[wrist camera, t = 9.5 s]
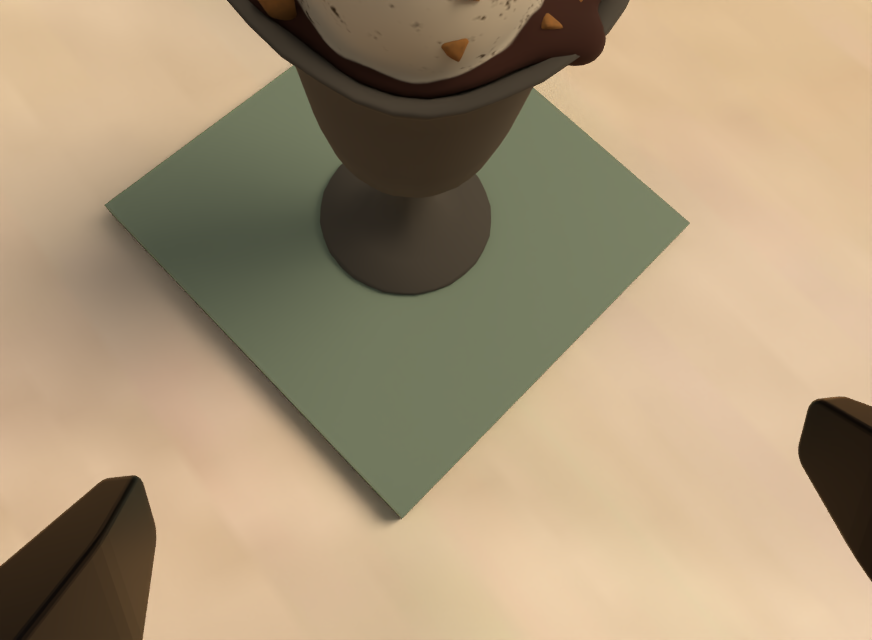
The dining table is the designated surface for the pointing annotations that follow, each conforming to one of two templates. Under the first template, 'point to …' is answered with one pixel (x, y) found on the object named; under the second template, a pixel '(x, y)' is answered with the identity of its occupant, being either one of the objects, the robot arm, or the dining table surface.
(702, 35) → the dining table surface
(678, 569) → the dining table surface
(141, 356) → the dining table surface
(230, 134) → the rubber mat
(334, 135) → the sundae
